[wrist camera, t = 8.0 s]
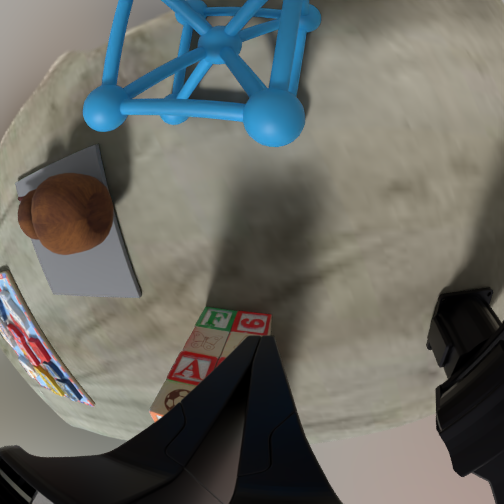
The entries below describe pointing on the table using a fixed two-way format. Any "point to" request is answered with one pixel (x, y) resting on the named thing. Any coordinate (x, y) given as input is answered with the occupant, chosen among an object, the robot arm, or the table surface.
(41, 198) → the wooden figurine
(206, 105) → the molecular structure
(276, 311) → the table surface
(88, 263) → the felt mat
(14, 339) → the puzzle board
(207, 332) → the stack of blocks
